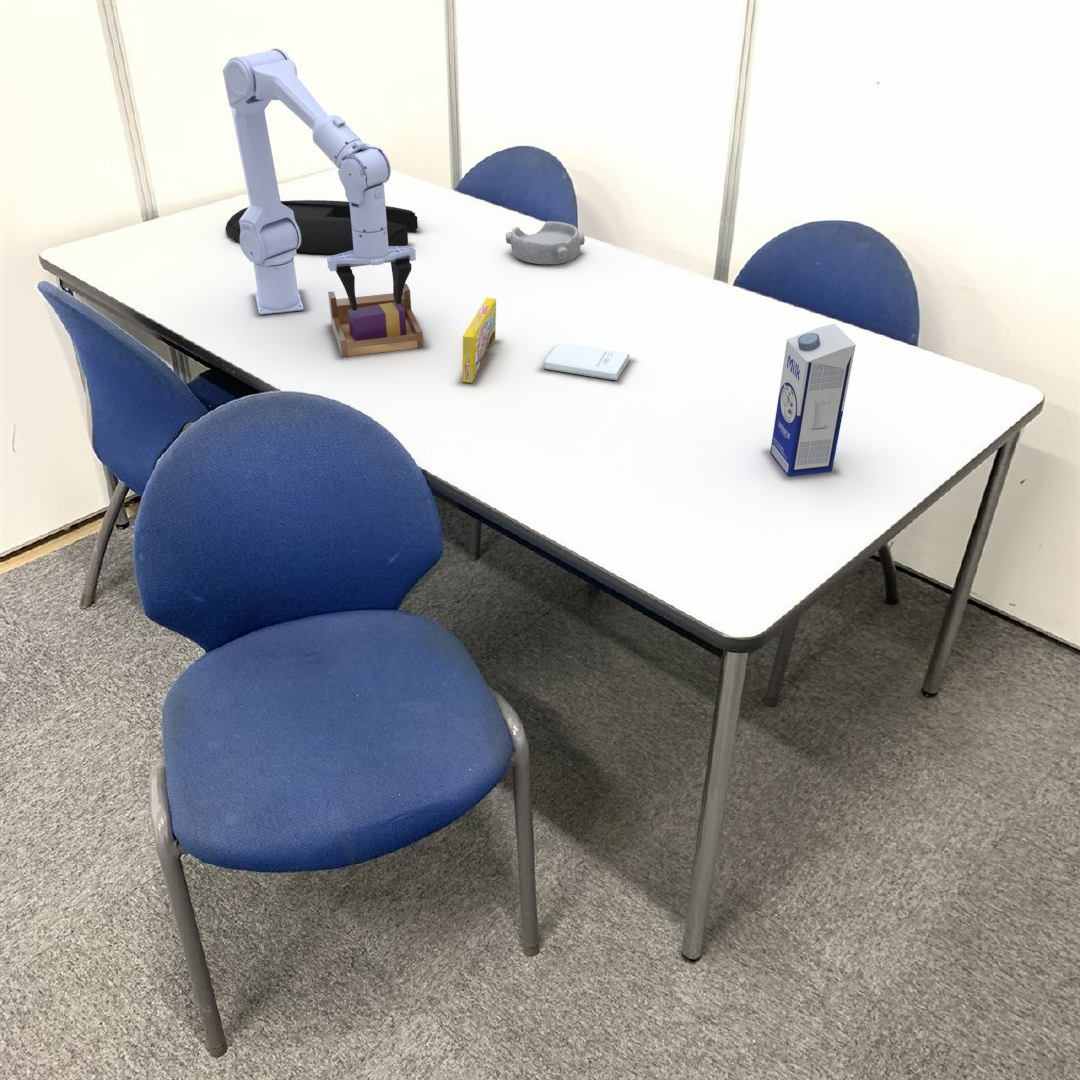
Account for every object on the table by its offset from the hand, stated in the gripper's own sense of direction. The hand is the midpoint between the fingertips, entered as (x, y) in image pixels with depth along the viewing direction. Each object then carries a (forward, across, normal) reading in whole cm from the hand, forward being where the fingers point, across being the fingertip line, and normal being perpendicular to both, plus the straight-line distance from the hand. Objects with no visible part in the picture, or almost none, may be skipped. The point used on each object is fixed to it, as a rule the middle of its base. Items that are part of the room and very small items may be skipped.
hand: (375, 305), depth 187 cm
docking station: (+7, +2, +57) cm, 57 cm away
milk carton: (+7, +47, -60) cm, 77 cm away
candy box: (+7, +14, -13) cm, 21 cm away
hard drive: (+7, +30, -21) cm, 37 cm away
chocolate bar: (+5, 0, 0) cm, 5 cm away
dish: (+7, +43, +28) cm, 52 cm away
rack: (+7, 0, +2) cm, 7 cm away
